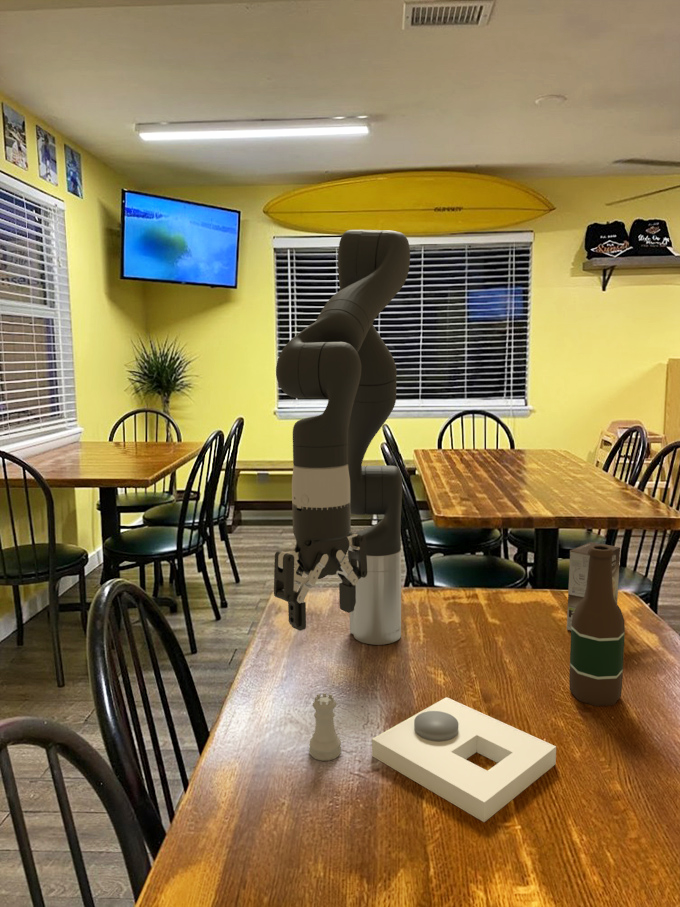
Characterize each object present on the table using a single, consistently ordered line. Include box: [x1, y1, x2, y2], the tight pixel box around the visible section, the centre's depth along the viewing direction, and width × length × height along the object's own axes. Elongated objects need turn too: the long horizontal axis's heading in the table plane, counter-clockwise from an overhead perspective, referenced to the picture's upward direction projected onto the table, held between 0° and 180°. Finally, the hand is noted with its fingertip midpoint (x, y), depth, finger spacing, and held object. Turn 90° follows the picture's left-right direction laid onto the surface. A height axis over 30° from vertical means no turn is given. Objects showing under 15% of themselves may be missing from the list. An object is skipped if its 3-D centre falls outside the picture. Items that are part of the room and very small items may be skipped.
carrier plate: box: [371, 696, 557, 823], centre depth 88 cm, size 18×16×4 cm
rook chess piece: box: [308, 692, 342, 762], centre depth 90 cm, size 4×4×8 cm
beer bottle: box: [568, 545, 626, 707], centre depth 103 cm, size 8×8×24 cm
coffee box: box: [566, 541, 621, 632], centre depth 130 cm, size 9×6×16 cm
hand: (323, 619), depth 88 cm, fingers open, 8 cm apart
